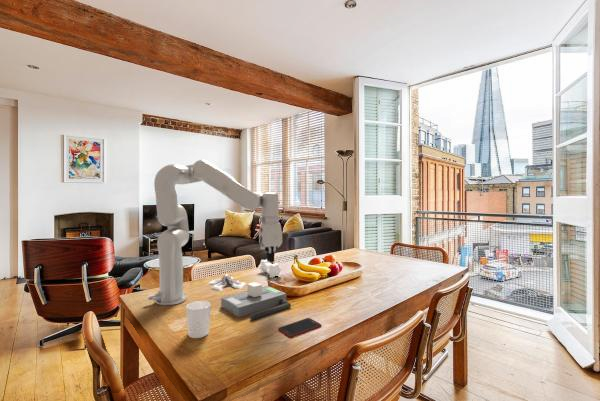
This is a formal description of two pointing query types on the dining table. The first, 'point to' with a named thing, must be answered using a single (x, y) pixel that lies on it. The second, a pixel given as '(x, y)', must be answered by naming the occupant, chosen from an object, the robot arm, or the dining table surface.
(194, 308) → the white cup
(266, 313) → the dark grey flat bar
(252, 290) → the white cube
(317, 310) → the dining table surface
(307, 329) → the cell phone
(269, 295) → the box
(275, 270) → the bone shaped toy
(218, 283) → the cloth
